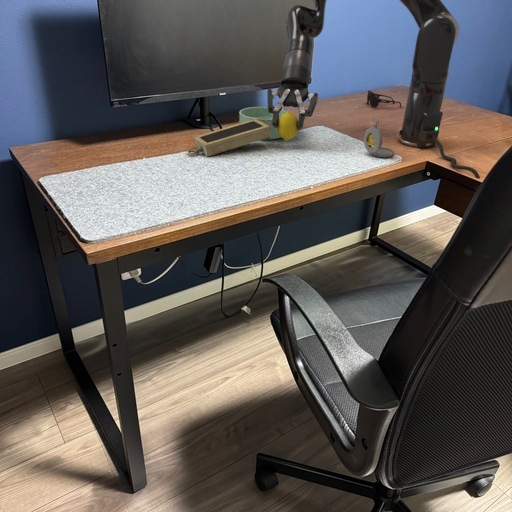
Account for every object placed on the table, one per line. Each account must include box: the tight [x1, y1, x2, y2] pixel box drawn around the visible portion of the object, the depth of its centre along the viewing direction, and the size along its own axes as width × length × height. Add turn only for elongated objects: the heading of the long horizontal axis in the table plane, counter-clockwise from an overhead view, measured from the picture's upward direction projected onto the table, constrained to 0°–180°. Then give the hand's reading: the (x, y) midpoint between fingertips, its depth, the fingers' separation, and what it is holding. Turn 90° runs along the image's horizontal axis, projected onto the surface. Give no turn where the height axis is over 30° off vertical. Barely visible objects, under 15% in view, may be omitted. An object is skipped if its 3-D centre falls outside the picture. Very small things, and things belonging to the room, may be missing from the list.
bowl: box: [238, 106, 288, 141], centre depth 141 cm, size 14×14×6 cm
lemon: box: [278, 110, 299, 142], centre depth 130 cm, size 6×6×8 cm
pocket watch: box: [363, 117, 395, 158], centre depth 127 cm, size 8×8×10 cm
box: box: [187, 119, 270, 157], centre depth 128 cm, size 8×22×5 cm, turn 119°
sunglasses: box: [366, 90, 402, 109], centre depth 178 cm, size 10×12×5 cm
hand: (287, 127), depth 128 cm, fingers closed on lemon, 5 cm apart
